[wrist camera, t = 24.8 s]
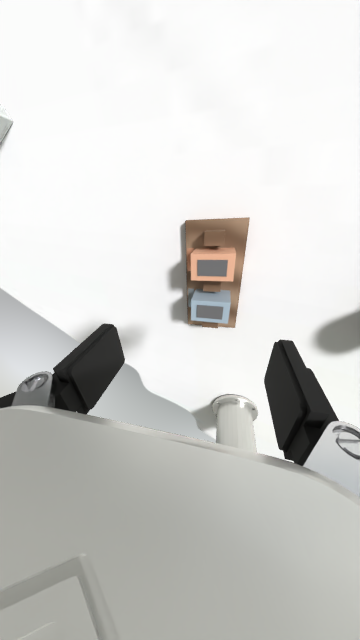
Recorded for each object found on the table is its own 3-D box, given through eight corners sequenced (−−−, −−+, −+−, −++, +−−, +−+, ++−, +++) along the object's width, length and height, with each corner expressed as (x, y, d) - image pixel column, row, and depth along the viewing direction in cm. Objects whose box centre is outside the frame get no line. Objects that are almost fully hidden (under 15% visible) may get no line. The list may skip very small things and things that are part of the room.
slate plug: (227, 309, 36) (227, 324, 31) (195, 306, 37) (190, 320, 32) (230, 290, 34) (230, 303, 29) (195, 288, 35) (190, 300, 30)
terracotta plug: (232, 271, 32) (233, 281, 27) (196, 271, 33) (190, 280, 28) (234, 247, 30) (236, 254, 25) (196, 248, 31) (190, 254, 26)
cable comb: (234, 324, 39) (235, 336, 35) (189, 320, 41) (185, 331, 37) (248, 217, 28) (251, 218, 25) (187, 220, 31) (181, 221, 27)
